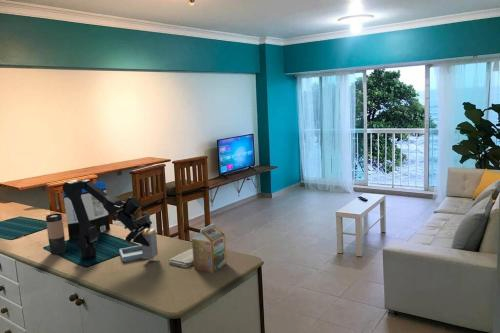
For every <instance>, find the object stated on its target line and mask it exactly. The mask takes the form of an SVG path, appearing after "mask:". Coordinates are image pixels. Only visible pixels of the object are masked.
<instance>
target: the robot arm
mask: <svg viewBox="0 0 500 333" xmlns="http://www.w3.org/2000/svg"><path fill="white" fill-rule="evenodd" d="M61 188H62V191H64V193H65V195H66V196H67V197H68V198H69V199H70V200H71V202H72V205H73V208H74V211H75V214H76V217H77V219H78V222H79V225H80V233H79V235H80V239H78V241H77V242H76V244H75V245H76V248H78V249H80V254H81V256H80V257H81V261H84V260H89V259H96V256H97V248H96V245H95V244H96V243H97V241H98V239H99V235H100V234H99V235H98V233H99V232H98V230H97V227H96V226H92V225H91V224H90V221H89V218H88V215H87V212H86V210H85V207H84V204H83V201H82V198H81V194H82V189H84V190H85V191H87V192H88V193H89V194H91V195H92V196H93V197H95V198H96V199H97V200H98V201H100V202H101V203H102V204H103V207H104V208H105V209H106V211H107V212H108V214H110V215H111V214H114V215H113V222H115V221H117V220H118V221H119V222H120V223H121V224H122V225H124V230H129V233H128V234H127V235H126V236H125V242H126V243H127V244H129V243H136V244H139V245H145V246H150V244H149V243H148V242H147V241H146V239H145V238H144V237H143V235H142V231H144V230H145V229H149V228H151V227H152V224H153V222H152V221H151V218H150V217H151V215H150V214H149V213H148V212H144V213H142V214H141V217H137V216H134V215H135V214H136V213H137V211H138V210H140V209H141V207H142V202H141V200H139V199H138V198H134V197H133V196H129V197H128V198H127V199H126V201H123V200H121V199H119V198H118V197H117V196H112V195H109V194H108V193H107V192H106V193H105V192H104V191H102V190H101V189H100V188H99V187H97V186H96V185H95V184H93V182H92V181H91V179H83V180H79V181H78V180H77V179H73V180H69V181H67V182H64V183H63V185H62V187H61ZM151 229H152V228H151Z"/></svg>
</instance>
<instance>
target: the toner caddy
mask: <svg viewBox="0 0 500 333" xmlns="http://www.w3.org/2000/svg"><path fill="white" fill-rule="evenodd" d="M142 235H143V237H144V238H145V239H146V241H147V242H148V243H149V244H150V246H145V245H142V244H141V245H142V255H143V260H154V259H155V258H156V257H157V256H158V255H159V253H158V242H157V230H156V228H149V229H145V230H144V231H142Z"/></svg>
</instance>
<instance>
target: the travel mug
mask: <svg viewBox="0 0 500 333" xmlns="http://www.w3.org/2000/svg"><path fill="white" fill-rule="evenodd" d="M45 220H46V221H45V222H46V230H47V239H48V245H49V251H50V255H55V256H57V254H58V255H62V254H65V253H66V251H67V250H66V237H65V229H64V222H63V214H62V213H50V214H47V215H46V216H45ZM61 253H62V254H61Z"/></svg>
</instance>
